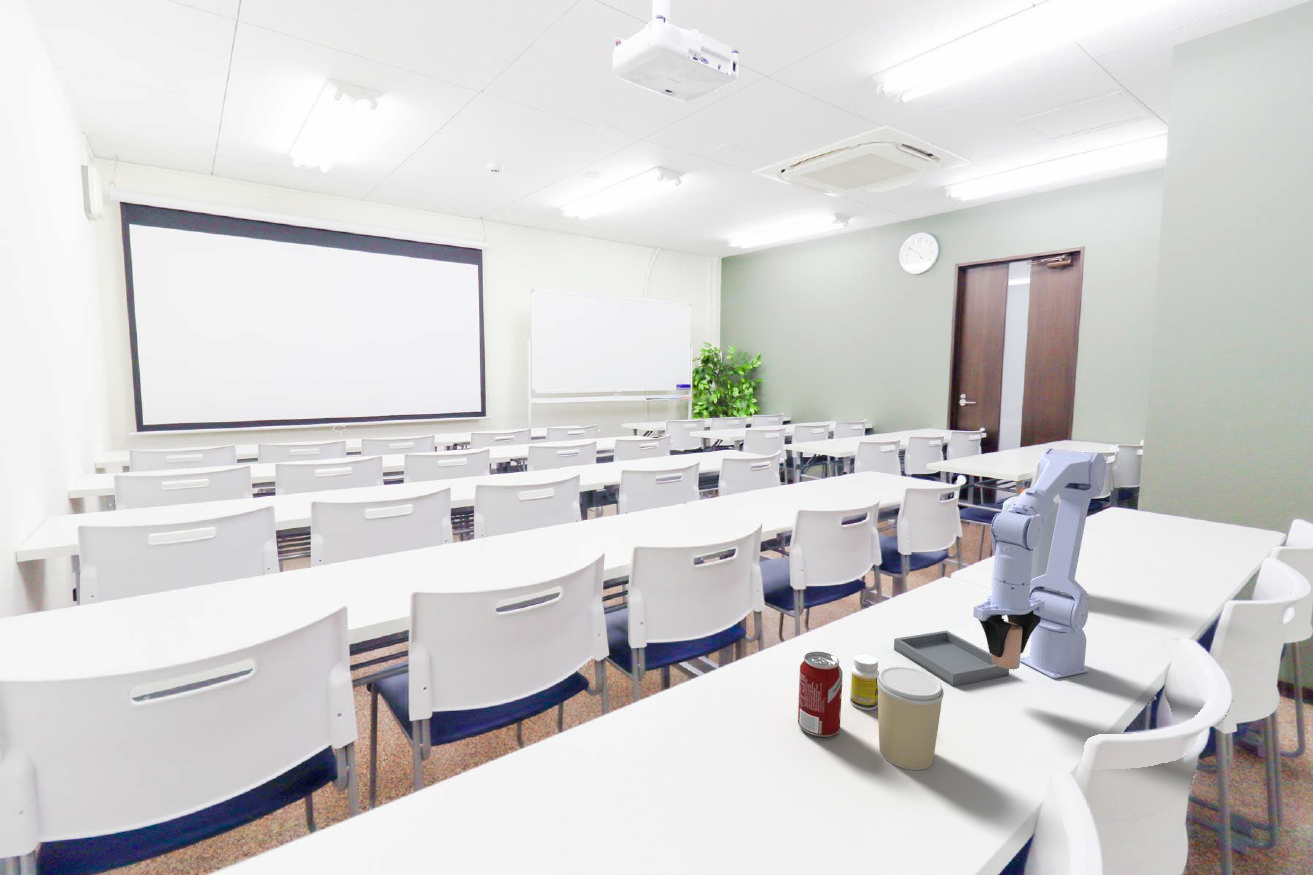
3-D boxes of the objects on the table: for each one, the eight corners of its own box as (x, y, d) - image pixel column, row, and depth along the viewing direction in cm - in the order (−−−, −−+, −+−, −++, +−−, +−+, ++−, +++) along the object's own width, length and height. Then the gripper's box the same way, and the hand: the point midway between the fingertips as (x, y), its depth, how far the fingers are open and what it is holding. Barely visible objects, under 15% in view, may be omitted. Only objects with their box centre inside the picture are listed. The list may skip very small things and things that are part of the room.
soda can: (817, 744, 95) (820, 672, 94) (789, 722, 101) (791, 654, 100) (848, 733, 98) (852, 663, 97) (819, 712, 104) (822, 646, 103)
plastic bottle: (1063, 590, 166) (1071, 490, 163) (1051, 604, 155) (1060, 498, 152) (1001, 576, 176) (1008, 482, 173) (986, 589, 165) (994, 489, 162)
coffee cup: (915, 733, 98) (919, 663, 97) (952, 770, 89) (957, 694, 88) (862, 738, 97) (866, 667, 95) (894, 777, 87) (899, 699, 86)
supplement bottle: (879, 712, 104) (882, 666, 103) (851, 709, 105) (853, 663, 104) (875, 698, 109) (877, 654, 108) (848, 695, 110) (850, 651, 109)
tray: (945, 640, 133) (946, 630, 133) (1008, 675, 118) (1009, 663, 118) (893, 649, 128) (894, 638, 128) (952, 686, 113) (953, 674, 113)
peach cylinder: (1003, 656, 111) (1006, 619, 110) (1025, 667, 107) (1028, 629, 106) (985, 659, 109) (988, 622, 109) (1006, 670, 105) (1009, 632, 105)
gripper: (1022, 568, 113) (1016, 638, 114) (961, 576, 108) (956, 648, 109) (1057, 581, 106) (1051, 654, 107) (995, 589, 101) (989, 666, 103)
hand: (1006, 652), depth 108 cm, fingers closed on peach cylinder, 4 cm apart
